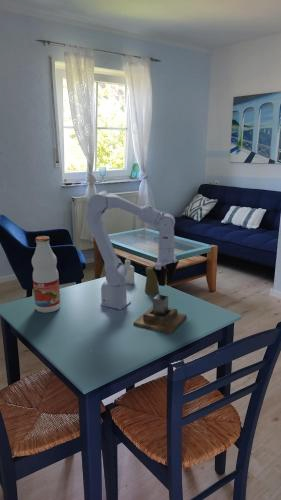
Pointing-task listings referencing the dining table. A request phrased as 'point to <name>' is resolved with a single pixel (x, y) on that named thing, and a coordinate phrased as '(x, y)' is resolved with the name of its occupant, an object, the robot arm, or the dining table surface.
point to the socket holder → (160, 320)
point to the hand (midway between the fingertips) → (165, 282)
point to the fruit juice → (45, 277)
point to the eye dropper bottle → (129, 272)
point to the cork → (151, 281)
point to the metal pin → (160, 305)
